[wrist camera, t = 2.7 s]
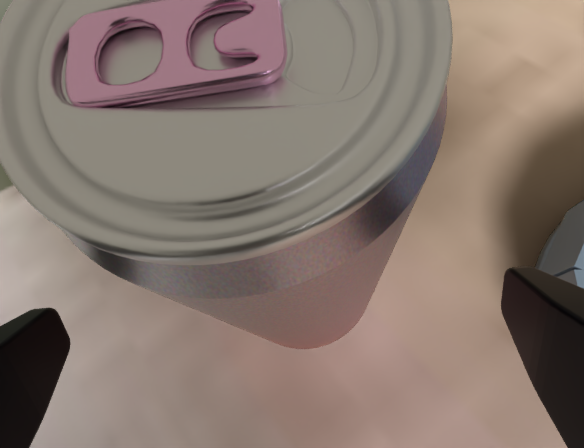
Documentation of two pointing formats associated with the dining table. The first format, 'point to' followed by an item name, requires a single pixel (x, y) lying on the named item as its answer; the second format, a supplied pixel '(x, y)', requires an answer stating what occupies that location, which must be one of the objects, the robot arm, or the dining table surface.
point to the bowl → (566, 248)
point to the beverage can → (229, 144)
